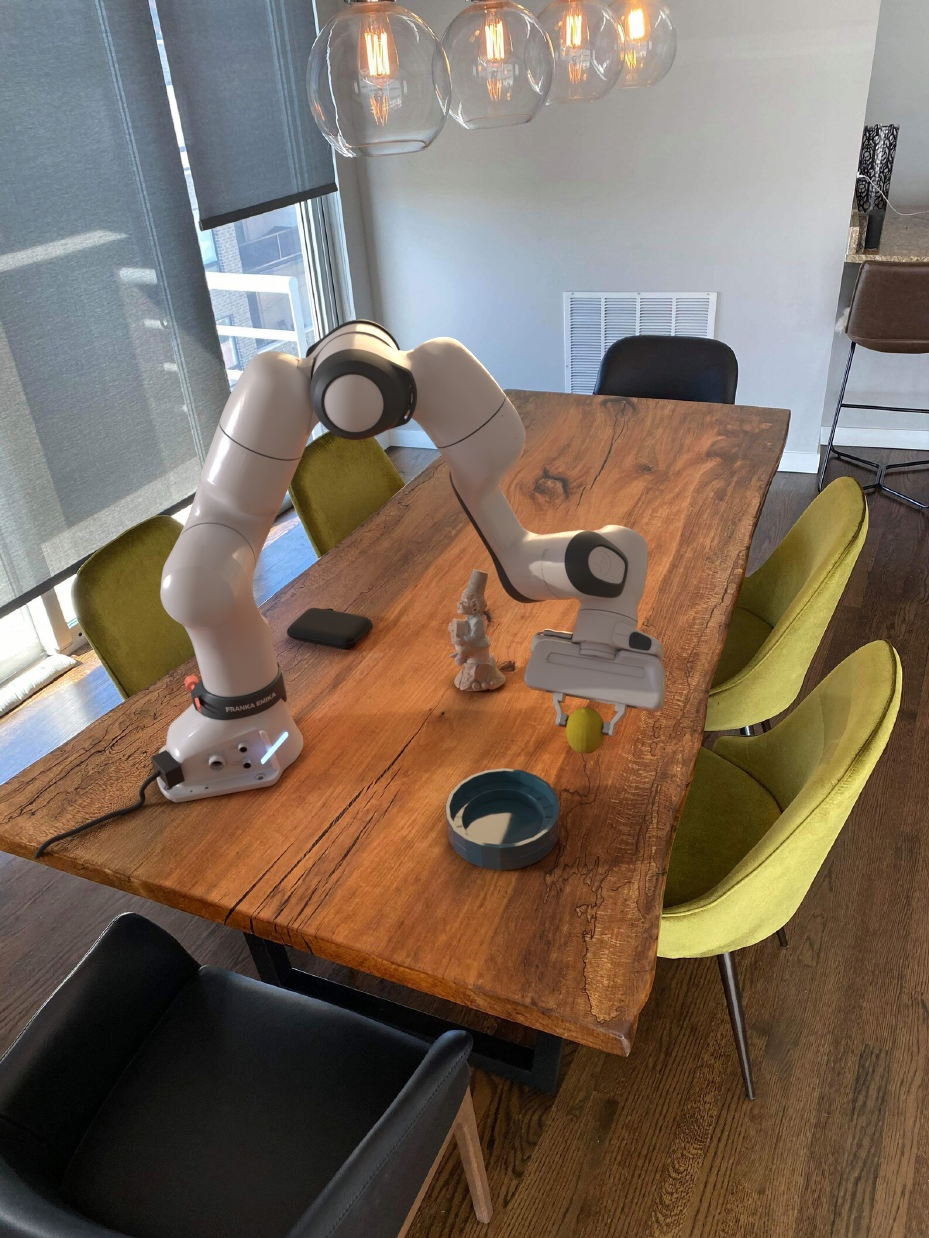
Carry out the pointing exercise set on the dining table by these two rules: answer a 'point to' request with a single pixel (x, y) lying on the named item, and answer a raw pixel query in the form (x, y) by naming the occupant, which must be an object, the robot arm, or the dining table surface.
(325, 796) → the dining table surface
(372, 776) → the dining table surface
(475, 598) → the figurine
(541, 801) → the bowl
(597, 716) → the lemon
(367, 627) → the carrying case
